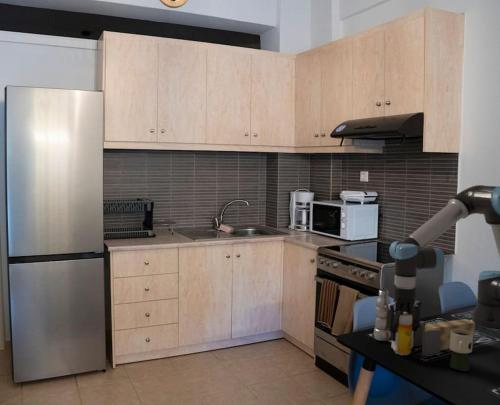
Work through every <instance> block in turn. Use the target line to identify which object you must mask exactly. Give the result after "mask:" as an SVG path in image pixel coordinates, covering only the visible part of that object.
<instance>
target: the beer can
mask: <svg viewBox="0 0 500 405" xmlns="http://www.w3.org/2000/svg"><path fill="white" fill-rule="evenodd" d="M399 312H400V311H399ZM397 332H398V350H394V349H393V351H394V353H395V354H397V355H398V354H399V356H404V355H405V356H408V355H410V354H411V352H412V348H411V339H412V315H410V314H408V313H406V312H403V315H400V317H399V326H398V329H397Z"/></svg>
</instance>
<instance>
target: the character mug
mask: <svg viewBox="0 0 500 405" xmlns="http://www.w3.org/2000/svg"><path fill="white" fill-rule="evenodd" d="M449 347H450V349H449V350H450V351H451V357H450V362H449V367H450V368H452V369H453V370H458V372H459V371H462V372H468V371H470V357H469V356H470V355H469V354H470V353H472V352H473V333H472V332H470V331H468V330H464V329H452V330H451V331H450V346H449Z"/></svg>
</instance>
